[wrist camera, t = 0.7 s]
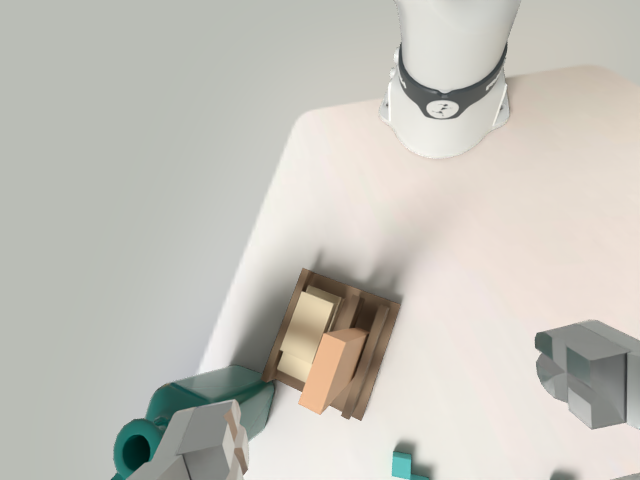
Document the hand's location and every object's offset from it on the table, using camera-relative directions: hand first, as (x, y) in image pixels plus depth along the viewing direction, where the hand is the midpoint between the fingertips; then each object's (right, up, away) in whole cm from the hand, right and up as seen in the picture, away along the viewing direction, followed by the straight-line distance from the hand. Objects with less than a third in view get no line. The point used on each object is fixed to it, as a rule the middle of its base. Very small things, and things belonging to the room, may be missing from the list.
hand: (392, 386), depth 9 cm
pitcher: (-13, -20, +42) cm, 48 cm away
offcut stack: (-3, -9, +40) cm, 41 cm away
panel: (+3, -11, +38) cm, 40 cm away
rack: (0, -11, +41) cm, 42 cm away
